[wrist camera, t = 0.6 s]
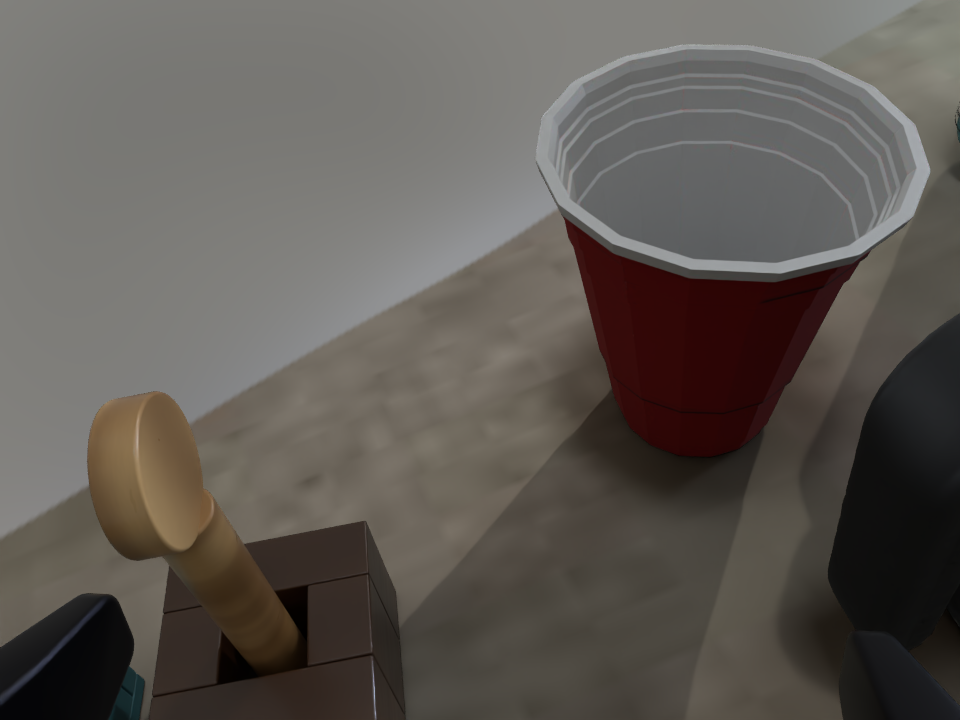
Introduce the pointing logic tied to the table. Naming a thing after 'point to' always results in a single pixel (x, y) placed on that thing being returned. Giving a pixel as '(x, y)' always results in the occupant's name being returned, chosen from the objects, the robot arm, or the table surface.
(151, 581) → the table surface
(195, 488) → the tan round-headed peg
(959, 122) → the beverage bottle
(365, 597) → the slotted brown holder
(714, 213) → the plastic cup
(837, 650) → the table surface
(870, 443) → the milk frother
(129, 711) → the tray
